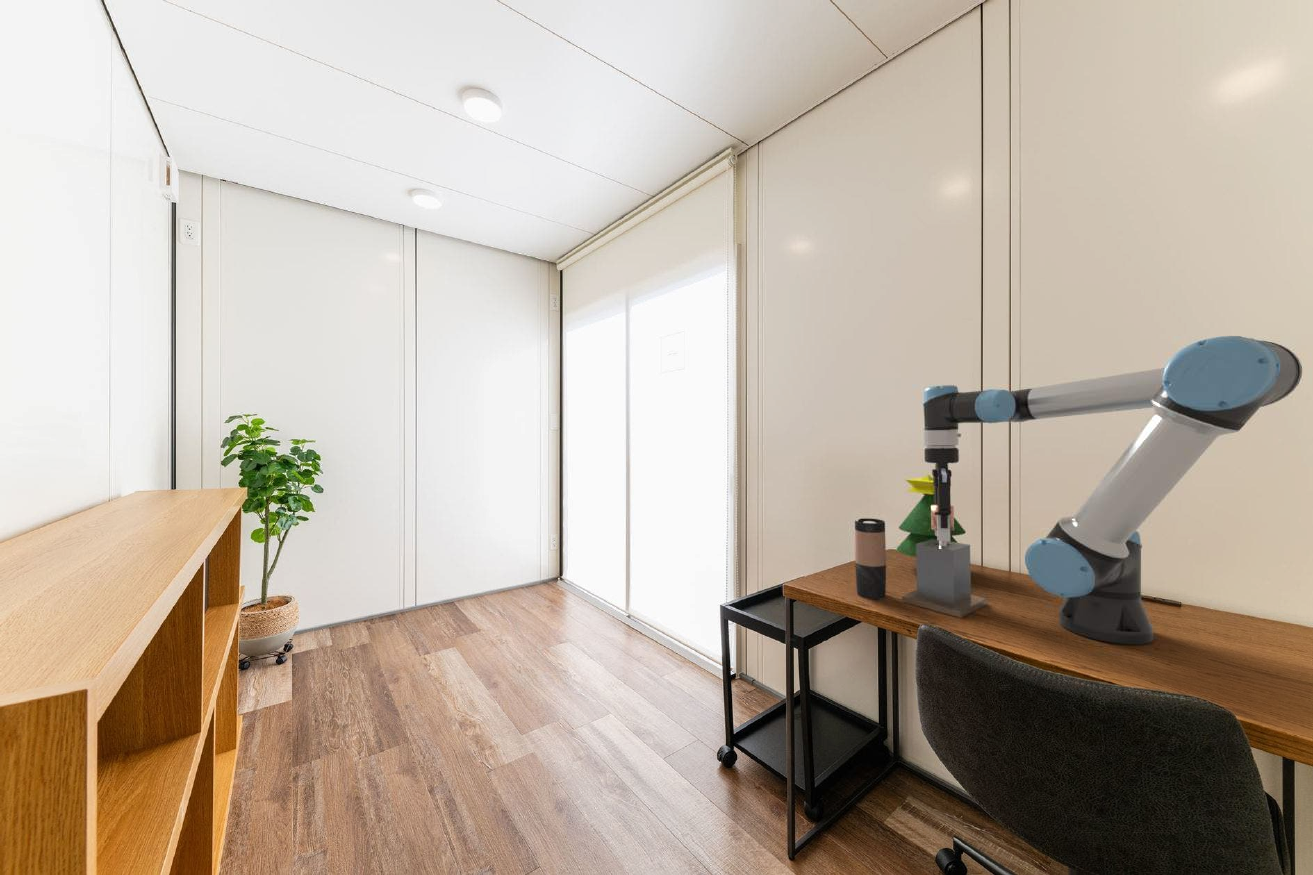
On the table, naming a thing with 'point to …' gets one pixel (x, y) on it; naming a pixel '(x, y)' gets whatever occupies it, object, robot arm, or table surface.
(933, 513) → the plunger
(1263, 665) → the table surface
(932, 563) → the press housing
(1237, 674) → the table surface
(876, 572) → the travel mug
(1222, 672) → the table surface
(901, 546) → the decorative tree
